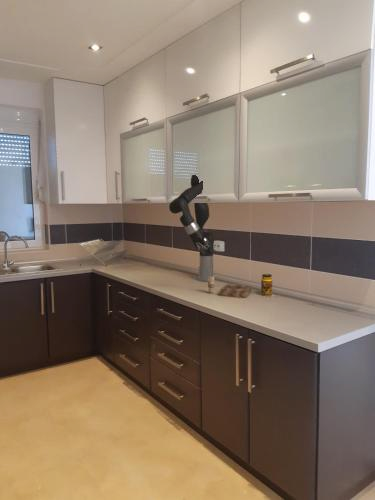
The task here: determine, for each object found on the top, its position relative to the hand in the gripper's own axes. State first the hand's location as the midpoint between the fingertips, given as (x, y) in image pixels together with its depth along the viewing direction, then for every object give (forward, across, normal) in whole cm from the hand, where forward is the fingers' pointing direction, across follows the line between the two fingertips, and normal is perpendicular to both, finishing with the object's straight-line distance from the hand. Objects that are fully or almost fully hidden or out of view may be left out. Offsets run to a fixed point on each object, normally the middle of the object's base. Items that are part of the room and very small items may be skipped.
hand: (208, 254), depth 225 cm
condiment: (+36, -15, -11) cm, 41 cm away
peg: (+21, +4, +10) cm, 24 cm away
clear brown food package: (+28, -5, +1) cm, 28 cm away
